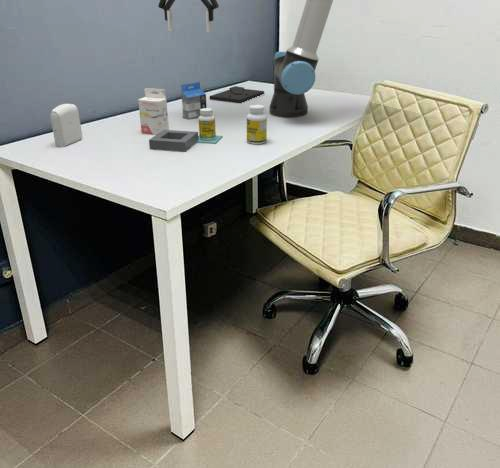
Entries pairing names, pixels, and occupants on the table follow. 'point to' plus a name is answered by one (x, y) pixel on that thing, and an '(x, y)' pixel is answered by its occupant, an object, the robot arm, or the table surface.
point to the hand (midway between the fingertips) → (189, 31)
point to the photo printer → (66, 124)
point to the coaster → (210, 140)
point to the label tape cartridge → (192, 100)
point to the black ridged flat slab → (236, 95)
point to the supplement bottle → (206, 124)
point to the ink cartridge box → (153, 111)
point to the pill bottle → (256, 125)
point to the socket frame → (173, 140)
